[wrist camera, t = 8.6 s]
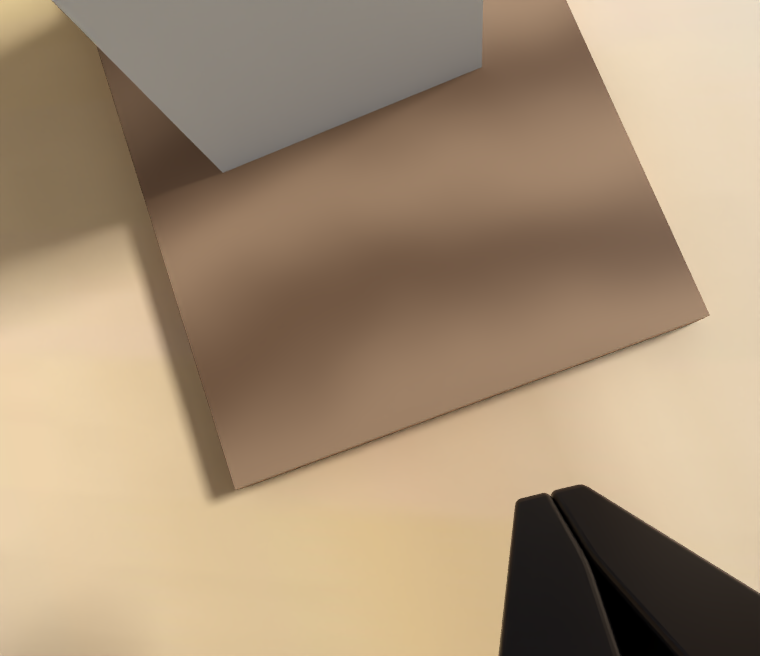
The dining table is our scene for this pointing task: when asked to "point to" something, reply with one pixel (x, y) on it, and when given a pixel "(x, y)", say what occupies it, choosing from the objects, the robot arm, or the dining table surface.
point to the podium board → (411, 249)
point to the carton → (279, 61)
